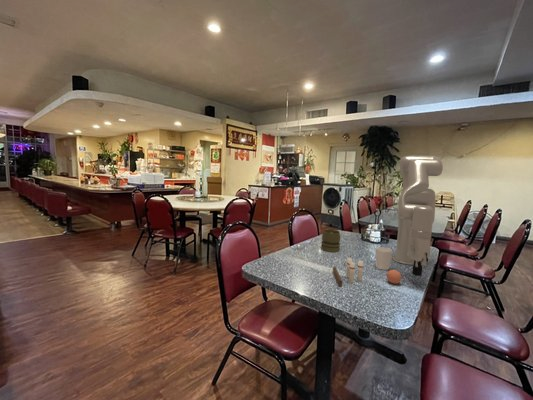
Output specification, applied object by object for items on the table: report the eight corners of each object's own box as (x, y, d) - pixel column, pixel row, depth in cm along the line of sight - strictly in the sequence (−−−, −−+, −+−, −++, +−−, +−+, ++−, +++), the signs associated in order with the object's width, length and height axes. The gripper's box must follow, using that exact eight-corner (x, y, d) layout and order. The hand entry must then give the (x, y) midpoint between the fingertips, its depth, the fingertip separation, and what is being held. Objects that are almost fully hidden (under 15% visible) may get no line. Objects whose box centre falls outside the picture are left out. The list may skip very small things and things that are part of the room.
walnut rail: (335, 271, 120) (335, 267, 120) (341, 286, 104) (342, 281, 104) (332, 271, 120) (333, 266, 120) (339, 286, 104) (339, 280, 104)
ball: (397, 280, 112) (398, 268, 112) (403, 286, 106) (404, 273, 106) (383, 279, 113) (385, 267, 112) (389, 285, 107) (390, 272, 106)
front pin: (361, 279, 112) (362, 260, 111) (362, 281, 110) (364, 262, 109) (356, 279, 112) (357, 260, 111) (357, 281, 110) (358, 262, 109)
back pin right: (350, 276, 115) (351, 258, 114) (351, 278, 113) (352, 259, 112) (345, 276, 115) (346, 257, 114) (346, 278, 113) (347, 259, 112)
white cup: (381, 271, 123) (383, 252, 122) (370, 265, 131) (372, 247, 130) (394, 269, 125) (395, 251, 124) (383, 264, 133) (384, 246, 132)
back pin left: (352, 281, 110) (354, 262, 109) (354, 283, 108) (355, 263, 107) (347, 280, 110) (349, 261, 109) (348, 282, 108) (350, 263, 107)
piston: (340, 230, 159) (340, 234, 148) (339, 248, 160) (339, 253, 149) (323, 228, 162) (321, 232, 151) (322, 246, 163) (320, 251, 152)
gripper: (404, 230, 114) (400, 268, 115) (420, 237, 99) (416, 281, 100) (420, 231, 113) (417, 269, 115) (440, 239, 98) (435, 282, 100)
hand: (416, 275), depth 107 cm, fingers closed
